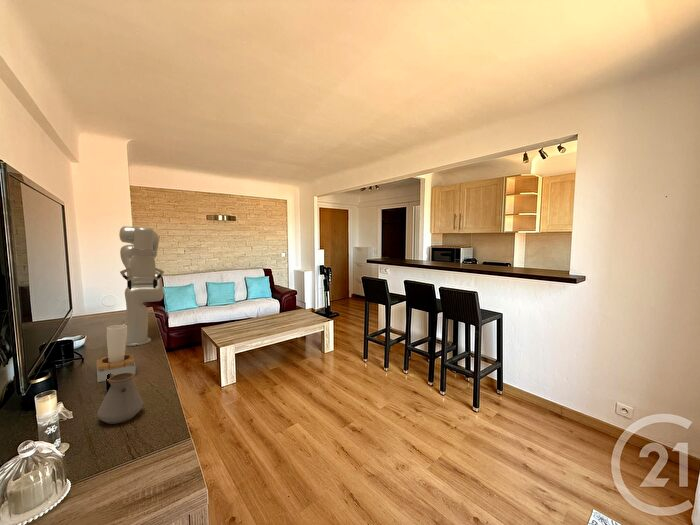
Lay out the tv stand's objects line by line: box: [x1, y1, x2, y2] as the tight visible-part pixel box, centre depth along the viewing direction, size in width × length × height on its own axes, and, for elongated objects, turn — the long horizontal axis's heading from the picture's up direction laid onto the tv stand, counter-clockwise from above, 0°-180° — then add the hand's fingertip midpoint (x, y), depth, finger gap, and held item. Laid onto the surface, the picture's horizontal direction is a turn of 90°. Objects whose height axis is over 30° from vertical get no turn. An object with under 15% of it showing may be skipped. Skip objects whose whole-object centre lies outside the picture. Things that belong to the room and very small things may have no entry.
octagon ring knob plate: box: [96, 353, 137, 383], centre depth 123 cm, size 16×12×6 cm
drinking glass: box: [106, 324, 127, 363], centre depth 122 cm, size 7×7×15 cm
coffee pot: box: [96, 373, 144, 425], centre depth 88 cm, size 21×12×15 cm, turn 40°
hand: (142, 288), depth 141 cm, fingers open, 9 cm apart
